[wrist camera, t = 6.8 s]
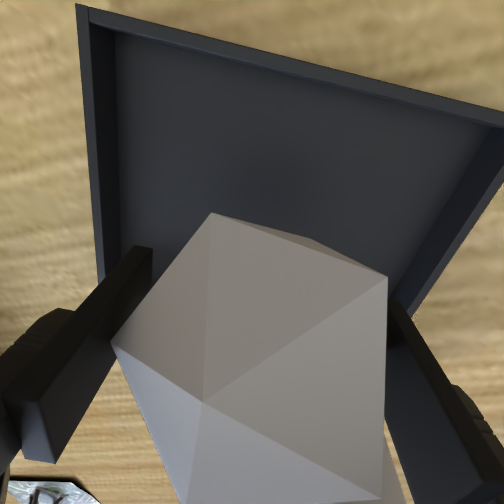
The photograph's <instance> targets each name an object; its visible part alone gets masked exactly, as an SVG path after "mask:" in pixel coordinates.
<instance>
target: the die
mask: <svg viewBox="0 0 504 504" xmlns="http://www.w3.org/2000/svg"><path fill="white" fill-rule="evenodd" d="M387 291H388V277H387V276H385V275H383V274H381V273H379V272H377V271H375V270H373V269H371V268H369V267H367V266H365V265H363V264H361V263H359V262H357V261H355V260H353V259H351V258H348V257H346V256H344V255H342V254H340V253H338V252H336V251H334V250H332V249H330V248H328V247H326V246H324V245H322V244H320V243H318V242H316V241H314V240H312V239H310V238H306V237H302V236H299V235H295V234H291V233H287V232H283V231H280V230H276V229H272V228H268V227H264V226H261V225H257V224H253V223H249V222H246V221H242V220H238V219H234V218H230V217H227V216H223V215H219V214H215V213H211V214H210V215H209V216H208V217H207V219H206V220H205V221H204V223H203V224H202V225H201V226H200V228H199V229H198V230H197V231H196V233H195V234H194V235H193V237H192V238H191V239H190V240H189V242H188V243H187V244H186V245H185V247H184V248H183V249H182V251H181V252H180V253H179V254H178V256H177V257H176V258H175V259H174V261H173V262H172V263H171V265H170V266H169V267H168V268H167V270H166V271H165V272H164V273H163V275H162V276H161V277H160V279H159V280H158V281H157V282H156V284H155V285H154V286H153V288H152V289H151V290H150V291H149V293H148V294H147V295H146V296H145V298H144V299H143V300H142V302H141V303H140V304H139V305H138V307H137V308H136V309H135V310H134V312H133V313H132V314H131V316H130V317H129V318H128V319H127V321H126V322H125V323H124V324H123V326H122V327H121V328H120V330H119V331H118V332H117V333H116V335H115V336H114V337H113V338H112V340H111V341H110V343H111V345H112V347H113V350H114V352H115V354H116V357H117V359H118V361H119V364H120V366H121V368H122V370H123V373H124V375H125V377H126V380H127V382H128V384H129V387H130V389H131V391H132V393H133V396H134V398H135V400H136V403H137V405H138V407H139V410H140V412H141V414H142V416H143V419H144V421H145V423H146V426H147V428H148V430H149V433H150V435H151V437H152V440H153V442H154V444H155V446H156V449H157V451H158V453H159V456H160V458H161V460H162V463H163V465H164V467H165V469H166V472H167V474H168V476H169V479H170V481H171V483H172V486H173V488H174V490H175V493H176V495H177V497H178V499H179V502H180V504H321V503H335V502H349V501H363V500H377V499H382V474H383V438H384V401H385V364H386V328H387Z"/></svg>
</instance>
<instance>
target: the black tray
mask: <svg viewBox="0 0 504 504" xmlns="http://www.w3.org/2000/svg"><path fill="white" fill-rule="evenodd" d="M75 8H76V20H77V33H78V45H79V57H80V69H81V81H82V93H83V105H84V117H85V129H86V141H87V154H88V166H89V178H90V190H91V202H92V214H93V226H94V238H95V250H96V263H97V275H98V285H99V284H100V283H101V282H102V280H103V279H104V278H105V277H106V276H107V275H108V274H109V273H110V271H111V270H112V269H113V268H114V267H115V266H116V265H117V264H118V263H119V261H120V260H121V259H122V258H123V257H124V256H125V255H126V254H127V252H128V251H129V250H130V249H131V248H132V247H133V246H134V245H139V246H144V247H148V248H153V262H152V286H151V289H152V288H153V286H154V285H155V284H156V282H157V281H158V280H159V279H160V277H161V276H162V275H163V273H164V272H165V271H166V270H167V268H168V267H169V266H170V265H171V263H172V262H173V261H174V259H175V258H176V257H177V256H178V254H179V253H180V252H181V251H182V249H183V248H184V247H185V245H186V244H187V243H188V242H189V240H190V239H191V238H192V237H193V235H194V234H195V233H196V231H197V230H198V229H199V228H200V226H201V225H202V224H203V223H204V221H205V220H206V219H207V217H208V216H209V215H210V214H211V213H215V214H219V215H223V216H227V217H230V218H234V219H238V220H242V221H246V222H249V223H253V224H257V225H261V226H264V227H268V228H272V229H276V230H280V231H283V232H287V233H291V234H295V235H299V236H302V237H306V238H310V239H312V240H314V241H316V242H318V243H320V244H322V245H324V246H326V247H328V248H330V249H332V250H334V251H336V252H338V253H340V254H342V255H344V256H346V257H348V258H351V259H353V260H355V261H357V262H359V263H361V264H363V265H365V266H367V267H369V268H371V269H373V270H375V271H377V272H379V273H381V274H383V275H385V276H387V277H388V291H387V298H389V299H394V300H399V301H400V302H401V304H402V305H403V307H404V309H405V310H406V312H407V314H408V315H409V317H410V318H411V317H412V316H413V314H414V313H415V312H416V310H417V309H418V307H419V306H420V304H421V303H422V301H423V300H424V298H425V297H426V295H427V294H428V292H429V291H430V289H431V288H432V287H433V285H434V284H435V282H436V281H437V279H438V278H439V276H440V275H441V273H442V272H443V270H444V269H445V267H446V266H447V264H448V263H449V262H450V260H451V259H452V257H453V256H454V254H455V253H456V251H457V250H458V248H459V247H460V245H461V244H462V242H463V241H464V239H465V238H466V237H467V235H468V234H469V232H470V231H471V229H472V228H473V226H474V225H475V223H476V222H477V220H478V219H479V217H480V216H481V214H482V213H483V212H484V210H485V209H486V207H487V206H488V204H489V203H490V201H491V200H492V198H493V197H494V195H495V194H496V192H497V191H498V189H499V188H500V186H501V185H502V184H503V182H504V112H502V111H498V110H494V109H490V108H486V107H482V106H478V105H474V104H470V103H467V102H463V101H459V100H455V99H451V98H447V97H443V96H439V95H435V94H431V93H427V92H423V91H419V90H415V89H412V88H408V87H404V86H400V85H396V84H392V83H388V82H384V81H380V80H376V79H372V78H368V77H364V76H360V75H356V74H353V73H349V72H345V71H341V70H337V69H333V68H329V67H325V66H321V65H317V64H313V63H309V62H305V61H301V60H297V59H294V58H290V57H286V56H282V55H278V54H274V53H270V52H266V51H262V50H258V49H254V48H250V47H246V46H242V45H238V44H235V43H231V42H227V41H223V40H219V39H215V38H211V37H207V36H203V35H199V34H195V33H191V32H187V31H183V30H180V29H176V28H172V27H168V26H164V25H160V24H156V23H152V22H148V21H144V20H140V19H136V18H132V17H128V16H124V15H121V14H117V13H113V12H109V11H105V10H101V9H97V8H93V7H88V6H85V5H81V4H77V3H76V4H75Z"/></svg>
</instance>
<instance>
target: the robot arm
mask: <svg viewBox="0 0 504 504" xmlns="http://www.w3.org/2000/svg"><path fill="white" fill-rule="evenodd" d="M152 262H153V248H148V247H144V246H139V245H134V246H133V247H132V248H131V249H130V250H129V251H128V252H127V254H126V255H125V256H124V257H123V258H122V259H121V260H120V261H119V263H118V264H117V265H116V266H115V267H114V268H113V269H112V270H111V271H110V273H109V274H108V275H107V276H106V277H105V278H104V279H103V280H102V282H101V283H100V284H99V285H98V286H97V287H96V288H95V289H94V290H93V292H92V293H91V294H90V295H89V296H88V297H87V298H86V299H85V301H84V302H83V303H82V304H81V305H80V306H79V307H78V308H77V309H76V311H72V310H67V309H61V308H57V309H55V310H53V311H51V312H49V313H47V314H46V315H44V316H42V317H40V318H39V319H38V320H37V321H36V322H35V323H34V324H33V325H32V326H31V327H30V328H29V329H28V330H27V331H26V333H25V334H23V335H22V336H20V337H19V338H18V339H17V340H16V341H15V342H14V345H13V346H12V345H11V346H10V347H9V348H8V349H7V350H6V351H5V352H4V353H3V354H2V355H1V356H0V504H5V501H6V495H7V489H8V484H9V478H10V463H11V461H12V460H13V459H14V457H15V456H16V454H17V453H18V451H19V450H20V449H21V450H22V452H23V455H24V457H25V459H29V460H35V461H41V462H47V463H53V464H56V462H57V460H58V459H59V457H60V455H61V454H62V452H63V450H64V448H65V447H66V445H67V443H68V441H69V440H70V438H71V436H72V435H73V433H74V431H75V429H76V428H77V426H78V424H79V422H80V421H81V419H82V417H83V416H84V414H85V412H86V410H87V409H88V407H89V405H90V404H91V402H92V400H93V398H94V397H95V395H96V393H97V391H98V390H99V388H100V386H101V385H102V383H103V381H104V379H105V378H106V376H107V374H108V372H109V371H110V369H111V367H112V366H113V364H114V362H115V360H116V359H117V357H116V354H115V352H114V350H113V347H112V345H111V343H110V341H111V340H112V338H113V337H114V336H115V335H116V333H117V332H118V331H119V330H120V328H121V327H122V326H123V324H124V323H125V322H126V321H127V319H128V318H129V317H130V316H131V314H132V313H133V312H134V310H135V309H136V308H137V307H138V305H139V304H140V303H141V302H142V300H143V299H144V298H145V296H146V295H147V294H148V293H149V291H150V290H151V286H152ZM384 417H385V420H386V423H387V426H388V429H389V432H390V434H391V437H392V440H393V443H394V446H395V449H396V452H397V454H398V457H399V460H400V463H401V466H402V469H403V472H404V474H405V477H406V480H407V483H408V486H409V489H410V492H411V494H412V497H413V500H414V503H415V504H504V448H503V446H502V444H501V443H500V441H499V440H498V438H497V437H496V435H493V431H492V429H491V428H490V426H489V425H488V423H487V422H486V421H484V417H483V415H482V414H481V412H480V411H479V409H478V408H477V406H476V405H475V403H474V402H473V400H472V399H471V398H470V397H469V396H468V395H467V394H466V393H465V392H464V391H463V390H462V389H461V388H460V387H459V386H458V385H452V384H451V383H450V381H449V380H448V378H447V376H446V375H445V373H444V372H443V370H442V368H441V367H440V365H439V364H438V362H437V360H436V359H435V357H434V355H433V354H432V352H431V351H430V349H429V347H428V346H427V344H426V343H425V341H424V339H423V338H422V336H421V334H420V333H419V331H418V330H417V328H416V326H415V325H414V323H413V322H412V320H411V318H410V317H409V315H408V314H407V312H406V310H405V309H404V307H403V305H402V304H401V302H400V301H399V300H394V299H389V298H387V328H386V364H385V401H384Z"/></svg>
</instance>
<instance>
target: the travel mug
mask: <svg viewBox="0 0 504 504" xmlns="http://www.w3.org/2000/svg"><path fill="white" fill-rule="evenodd" d="M321 504H406V501H405V498H404V495H403V492H402V488H401V485H400V482H399V479H398V476H397V473H396V470H395V466H394V463H393V460H392V457H391V454H390V451H389V448H388V445H387V441H386V438H385V435H384V438H383V474H382V499H377V500H363V501H349V502H335V503H321Z"/></svg>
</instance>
